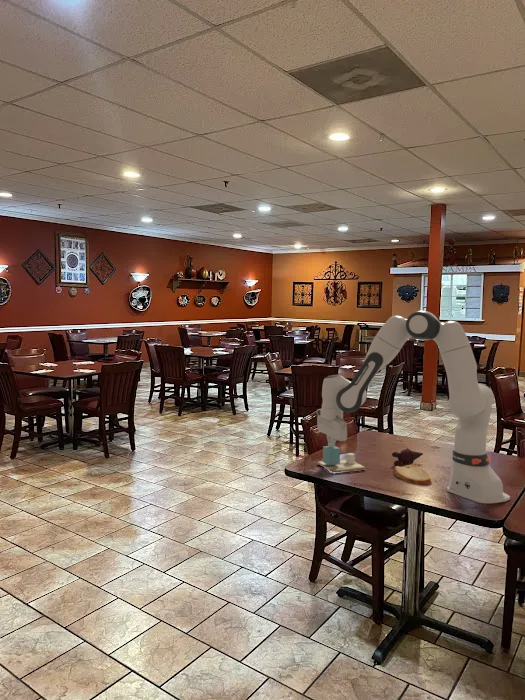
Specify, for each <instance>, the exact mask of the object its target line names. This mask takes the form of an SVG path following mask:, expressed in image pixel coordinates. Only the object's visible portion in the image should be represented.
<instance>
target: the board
mask: <svg viewBox="0 0 525 700" xmlns="http://www.w3.org/2000/svg"><path fill="white" fill-rule="evenodd" d="M317 462H318V463H320V464H322V465H323V466H325V467H326V468H327V469H329V470H330V471H332V472H341V471H354V470H365V471H366V467H365V466H364V465H362V464H360V463H358V462H356V461H355V464H347V463H346V458H340V464H336V466H328V465H327V464H326V463H324V462H323V460H318V461H316V463H317Z"/></svg>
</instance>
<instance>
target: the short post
mask: <svg viewBox="0 0 525 700" xmlns="http://www.w3.org/2000/svg"><path fill="white" fill-rule="evenodd" d="M355 456H356V454H355V453H353V452H348V453H346V455H345V459H346V463H347V464H355V462H356V461H355V459H356V457H355Z"/></svg>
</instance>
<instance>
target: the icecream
mask: <svg viewBox="0 0 525 700" xmlns="http://www.w3.org/2000/svg"><path fill="white" fill-rule="evenodd" d="M423 455H424V453H423V452H419V451H414V450H412V449H409V448H405V449H402V450H401V451H400V452H397V451H394V452H392V453H391V456H392V457H393V458H396V459H397V460H395V461H393V466H395V465H397V466H400V465H401V464H404V465H411V464H414V461H415V460H417V459H418V458H420V457H421V456H423Z"/></svg>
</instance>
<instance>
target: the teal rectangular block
mask: <svg viewBox="0 0 525 700" xmlns="http://www.w3.org/2000/svg"><path fill="white" fill-rule="evenodd" d="M340 459H341V448H340V447H339V446H337V445H335V447H330V446H328V445H326V446H325V445H323V446H322V461H323V462H324V463H326V464H327V465H336V464H340Z"/></svg>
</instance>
